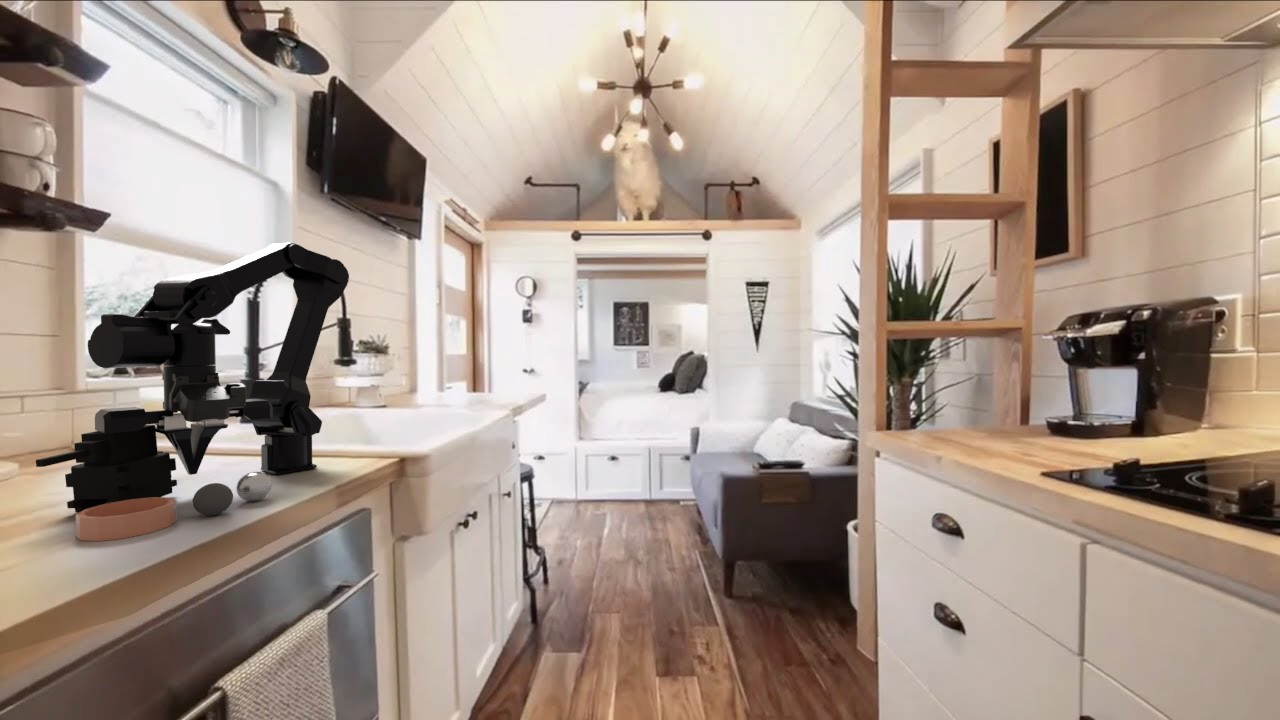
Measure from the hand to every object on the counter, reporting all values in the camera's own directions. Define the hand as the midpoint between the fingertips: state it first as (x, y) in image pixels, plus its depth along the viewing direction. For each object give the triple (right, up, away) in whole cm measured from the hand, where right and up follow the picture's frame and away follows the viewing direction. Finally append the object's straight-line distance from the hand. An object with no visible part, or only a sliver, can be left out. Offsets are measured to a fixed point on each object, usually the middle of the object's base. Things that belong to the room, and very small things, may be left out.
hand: (192, 474), depth 76 cm
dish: (+4, -3, -14) cm, 15 cm away
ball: (+10, -1, -9) cm, 14 cm away
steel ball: (+11, -1, -3) cm, 11 cm away
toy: (-5, -3, -7) cm, 9 cm away
